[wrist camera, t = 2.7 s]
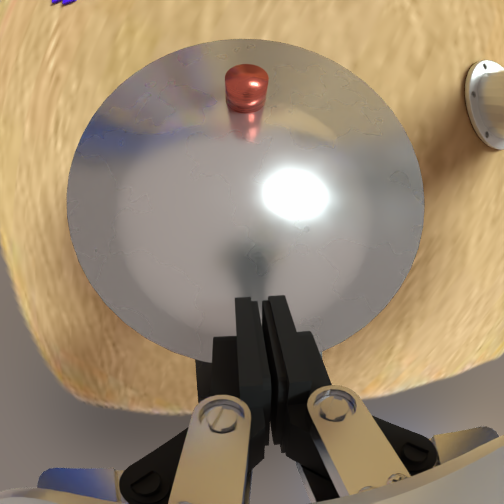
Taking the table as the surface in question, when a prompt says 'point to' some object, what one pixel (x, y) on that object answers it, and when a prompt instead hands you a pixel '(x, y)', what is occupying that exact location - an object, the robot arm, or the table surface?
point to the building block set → (65, 1)
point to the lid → (244, 196)
